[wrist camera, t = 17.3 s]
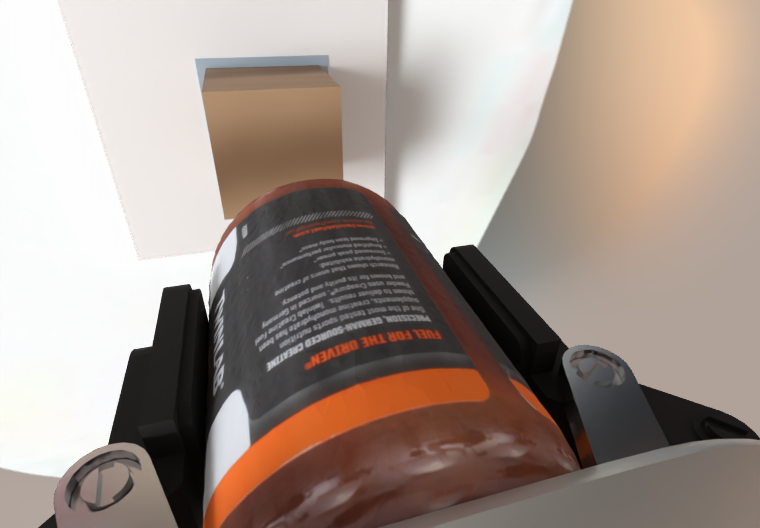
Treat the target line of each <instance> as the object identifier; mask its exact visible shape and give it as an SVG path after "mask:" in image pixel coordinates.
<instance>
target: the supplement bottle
mask: <svg viewBox="0 0 760 528" xmlns="http://www.w3.org/2000/svg"><path fill="white" fill-rule="evenodd" d="M209 290H210V294H209V302H208V303H209V332H208V382H207V414H206V425H205V447H206V449H205V460H204V494H203V528H379V527H382V526H386V525H389V524H393V523H396V522H400V521H403V520H407V519H410V518H413V517H417V516H420V515H424V514H427V513H431V512H434V511H438V510H441V509H445V508H448V507H452V506H455V505H459V504H462V503H465V502H469V501H472V500H476V499H479V498H483V497H486V496H490V495H493V494H497V493H500V492H504V491H507V490H511V489H514V488H518V487H521V486H525V485H529V484H532V483H536V482H539V481H543V480H546V479H550V478H553V477H557V476H560V475H564V474H568V473H571V472H575V471H578V470H581V468H580V466H579V463H578V461H577V459H576V456H575V454H574V452H573V451H572V449H571V447H570V446H569V444H568V442H567V441H566V439H565V437H564V435H563V433H562V432H561V430H560V429H559V427H558V426H557V424H556V423H555V421H554V420H553V419H552V417H551V416H550V415H549V413H548V412H547V411H546V409H545V408H544V407H543V405H542V404H541V403H540V402H539V400H538V399H537V398H536V396H535V395H534V393H533V392H532V390H531V389H530V387H529V386H528V384H527V383H526V381H525V380H524V378H523V377H522V375H521V374H520V373H519V372H518V371H517V370H516V368H515V367H514V366H513V364H512V362H511V361H510V360H509V359H508V357H507V356H506V355H505V353H504V352H503V350H502V349H501V348H500V346H499V345H498V344H497V342H496V341H495V340H494V338H493V337H492V335H491V334H490V333H489V331H488V330H487V329H486V328H485V326H484V324H483V323H482V322H481V320H480V319H479V318H478V316H477V315H476V314H475V312H474V311H473V310H472V308H471V307H470V306H469V304H468V303H467V302H466V300H465V299H464V298H463V296H462V295H461V294H460V292H459V291H458V290H457V288H456V287H455V285H454V284H453V283H452V281H451V280H450V279H449V277H448V275H447V274H446V272H445V271H444V270H443V269H442V268H441V266H440V265H439V263H438V262H437V261H436V260H435V259H434V257H433V256H432V254H431V253H430V251H429V250H428V249H427V248H426V246H425V244H424V243H423V242H422V241H421V239H420V238H419V237H418V235H417V234H416V233H415V232H414V230H413V229H412V227H411V226H410V224H409V223H408V222H407V221H406V219H405V218H404V217H403V216H402V215H400V214H399V212H398V211H397V210H396V209H395V208H394V207H393V206H392V205H391V204H390V203H389V202H388V201H387V200H385V199H384V198H383V197H381V196H380V195H378V194H377V193H375V192H373V191H372V190H370V189H367V188H365V187H363V186H360V185H358V184H355V183H352V182H348V181H344V180H339V179H310V180H304V181H298V182H293V183H289V184H286V185H283V186H280V187H277V188H275V189H273V190H271V191H269V192H267V193H265V194H264V195H262V196H260V197H258V198H257V199H255V200H253V201H252V202H251V203H250V204H248V205H247V206H246V207H245V208H244V209H243V210H242V211H241V212H240V213H239V214H237V216H236V217H235V219H234V220H233V221H232V222H231V223H230V224H229V226H228V227H227V229H226V230H225V232H224V234H223V235H222V237H221V240H220V242H219V244H218V245H217V248H216V251H215V256H214V259H213V264H212V273H211V280H210V285H209Z"/></svg>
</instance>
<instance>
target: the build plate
mask: <svg viewBox="0 0 760 528" xmlns="http://www.w3.org/2000/svg"><path fill="white" fill-rule="evenodd" d="M58 3H59V7H60V10H61V13H62V16H63V19H64V22H65V26H66V29H67V32H68V35H69V38H70V42H71V45H72V48H73V51H74V54H75V58H76V61H77V64H78V67H79V70H80V74H81V77H82V80H83V83H84V86H85V89H86V93H87V96H88V99H89V102H90V105H91V109H92V112H93V115H94V118H95V121H96V125H97V128H98V131H99V134H100V137H101V141H102V144H103V147H104V150H105V153H106V157H107V160H108V163H109V166H110V169H111V172H112V176H113V179H114V182H115V185H116V188H117V192H118V195H119V198H120V201H121V204H122V208H123V211H124V214H125V217H126V220H127V224H128V227H129V230H130V233H131V236H132V240H133V243H134V246H135V249H136V252H137V255H138V259H139V260H146V259H154V258H162V257H170V256H178V255H186V254H194V253H202V252H210V251H216V248H217V245H218V244H219V242H220V240H221V237H222V235H223V234H224V232H225V230H226V229H227V227H228V226H229V224H230V223H231V222H232V221H233V220H234V219H227V220H225V219H224V213H223V208H222V202H221V197H220V191H219V186H218V180H217V175H216V169H215V164H214V158H213V153H212V147H211V142H210V136H209V131H208V125H207V120H206V114H205V109H204V103H203V98H202V87H203V81H204V75H205V70H206V68H237V67H272V66H306V65H319V66H320V67H321V68H322V69H323V70H324V71H325V72H326V73H327V74H328V75H329V76H330V77H331V78H332V79H334V80H335V81H336V82H337V83H338V84H339V85H340V86H341V110H342V146H343V180H344V181H348V182H352V183H355V184H358V185H360V186H363V187H365V188H367V189H370V190H372V191H373V192H375V193H377V194H378V195H380V196H381V197H383V198H384V191H385V137H386V83H387V29H388V0H58Z"/></svg>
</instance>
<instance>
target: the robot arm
mask: <svg viewBox="0 0 760 528" xmlns="http://www.w3.org/2000/svg"><path fill="white" fill-rule="evenodd" d="M443 270H444V271H445V272H446V274H447V275H448V277H449V279H450V280H451V281H452V283H453V284H454V285H455V287H456V288H457V290H458V291H459V292H460V294H461V295H462V296H463V298H464V299H465V300H466V302H467V303H468V304H469V306H470V307H471V308H472V310H473V311H474V312H475V314H476V315H477V316H478V318H479V319H480V320H481V322H482V323H483V324H484V326H485V328H486V329H487V330H488V331H489V333H490V334H491V335H492V337H493V338H494V340H495V341H496V342H497V344H498V345H499V346H500V348H501V349H502V350H503V352H504V353H505V355H506V356H507V357H508V359H509V360H510V361H511V362H512V364H513V366H514V367H515V368H516V370H517V371H518V372H519V373H520V374H521V375H522V377H523V378H524V380H525V381H526V383H527V384H528V386H529V387H530V389H531V390H532V392H533V393H534V395H535V396H536V398H537V399H538V400H539V402H540V403H541V404H542V405H543V407H544V408H545V409H546V411H547V412H548V413H549V415H550V416H551V417H552V419H553V420H554V421H555V423H556V424H557V426H558V427H559V429H560V430H561V432H562V433H563V435H564V437H565V439H566V441H567V442H568V444H569V446H570V447H571V449H572V451H573V452H574V454H575V456H576V459H577V461H578V463H579V466H580V468H581V470H578V471H575V472H571V473H568V474H564V475H560V476H557V477H553V478H550V479H546V480H543V481H539V482H536V483H532V484H529V485H525V486H521V487H518V488H514V489H511V490H507V491H504V492H500V493H497V494H493V495H490V496H486V497H483V498H479V499H476V500H472V501H469V502H465V503H462V504H459V505H455V506H452V507H448V508H445V509H441V510H438V511H434V512H431V513H427V514H424V515H420V516H417V517H413V518H410V519H407V520H403V521H400V522H396V523H393V524H389V525H386V526H382V527H379V528H760V438H759V437H758V435H757V434H756V433H755V432H754V431H753V430H752V429H750V428H749V427H748V426H747V425H745V423H743V422H741V421H739V420H738V419H736V418H735V417H733V416H731V415H729V414H726V413H724V412H721V411H719V410H716V409H713V408H710V407H707V406H704V405H701V404H698V403H695V402H692V401H689V400H686V399H683V398H680V397H677V396H674V395H671V394H668V393H665V392H662V391H659V390H656V389H653V388H650V387H647V386H644V385H641V384H638V382H637V380H636V378H635V376H634V374H633V372H632V370H631V369H630V367H629V366H628V365H627V363H626V362H625V361H624V360H622V359H621V358H620V357H619V356H617V355H615V354H614V353H612V352H610V351H608V350H605V349H603V348H600V347H596V346H589V345H578V346H574V347H571V348H568V347H567V346H566V345H565V344H564V343H563V342H562V341H561V339H560V338H559V336H558V335H557V334H556V333H555V332H554V331H553V330H552V329H551V328H550V327H549V326H548V324H546V322H545V321H544V320H543V319H542V318H541V317H540V316H539V315H538V314H537V313H536V312H535V311H534V309H533V308H532V307H531V306H530V305H529V304H528V303H527V302H526V301H525V300H524V299H523V298H522V297H521V295H520V294H519V293H518V292H517V291H516V290H515V289H514V288H513V287H512V286H511V285H510V284H509V283H508V281H507V280H506V279H505V278H504V277H503V276H502V275H501V274H500V273H499V272H498V271H497V270H496V268H495V267H494V266H493V265H492V264H491V263H490V262H489V261H488V260H487V259H486V258H485V257H484V256H483V254H482V253H481V252H480V251H479V250H478V249H477V248H476V247H475V246H474V245H466V246H459V247H453V248H451V250H450V253H447V254H445V256H444V261H443ZM208 332H209V322H208V318H207V313H206V309H205V305H204V301H203V297H202V293H201V290H200V289H196V290H192V288H191V286H190V284H187V285H180V286H173V287H166V288H164V289H163V293H162V298H161V303H160V309H159V314H158V319H157V324H156V330H155V335H154V340H153V346H151V347H146V348H140V349H134V350H133V351H132V352H131V354H130V357H129V361H128V365H127V369H126V373H125V377H124V381H123V385H122V390H121V394H120V398H119V402H118V406H117V410H116V414H115V418H114V422H113V426H112V431H111V435H110V439H109V443H108V445H107V446H104V447H101V448H98V449H96V450H94V451H92V452H90V453H89V454H87V455H85V456H84V457H82V458H81V459H80V460H78V461H77V462H76V463H75V464H74V465H73V466H71V467H70V468H69V469H68V471H67V472H66V473H65V474H64V476H63V477H62V478H61V480H60V481H59V483H58V486H57V488H56V490H55V493H54V510H55V514H54V515H53V516H51V517H50V518H49V519H48V520H47V521H46V522H44V523H43V524H42V525H41V526H40V527H39V528H203V494H204V460H205V449H206V447H205V425H206V414H207V382H208Z"/></svg>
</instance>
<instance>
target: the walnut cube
mask: <svg viewBox="0 0 760 528" xmlns="http://www.w3.org/2000/svg"><path fill="white" fill-rule="evenodd" d="M202 98H203V103H204V109H205V114H206V120H207V125H208V131H209V136H210V142H211V147H212V153H213V158H214V164H215V169H216V175H217V180H218V186H219V191H220V197H221V202H222V208H223V213H224V219H225V220H227V219H235V217H236V216H237V214H239V213H240V212H241V211H242V210H243V209H244V208H245V207H246V206H247V205H248V204H250V203H251V202H252V201H253V200H255V199H257V198H258V197H260V196H262V195H264V194H265V193H267V192H269V191H271V190H273V189H275V188H277V187H280V186H283V185H286V184H289V183H293V182H298V181H304V180H310V179H339V180H343V146H342V110H341V86H340V85H339V84H338V83H337V82H336V81H335V80H334V79H332V78H331V77H330V76H329V75H328V74H327V73H326V72H325V71H324V70H323V69H322V68H321V67H320V66H319V65H306V66H272V67H237V68H206V70H205V75H204V81H203V87H202Z"/></svg>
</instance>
